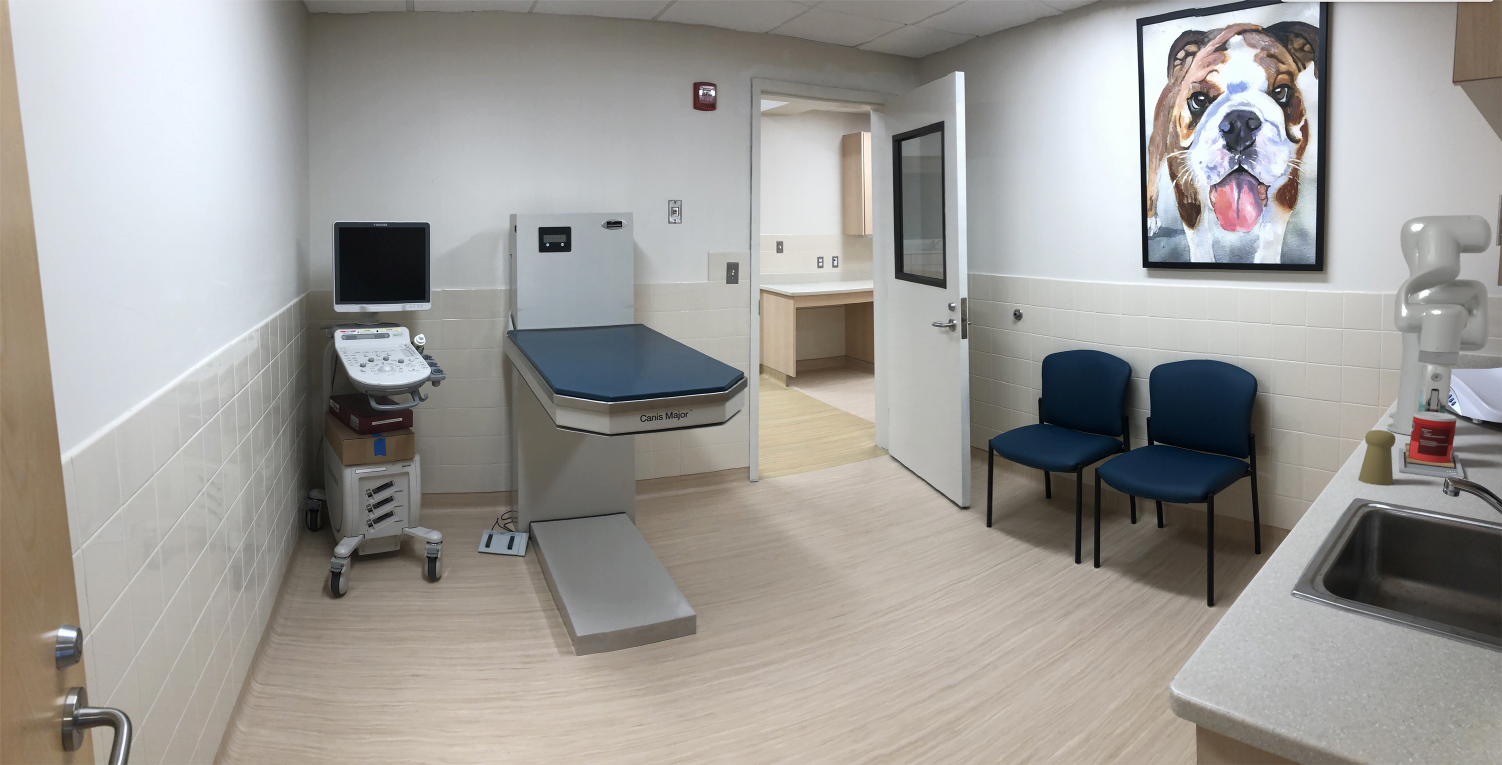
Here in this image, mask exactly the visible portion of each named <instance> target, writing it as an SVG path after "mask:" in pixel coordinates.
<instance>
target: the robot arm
mask: <svg viewBox="0 0 1502 765" xmlns="http://www.w3.org/2000/svg"><path fill="white" fill-rule="evenodd" d="M1491 242H1492V228H1491V225H1490V223H1489V222H1488V220H1487V219H1485V218H1484V217H1483V216H1481V215H1475V214H1474V215H1473V214H1472V215H1471V214H1470V215H1469V214H1468V215H1464V214H1463V215H1426V216H1417V217H1414V218H1410V219H1408V220H1407V221H1405V222H1404V223H1403V224H1402V227H1401V230H1400V248H1401V252H1402V256H1403V258H1404V260H1405V262H1406V263H1405V264H1407V267H1408V270H1409V277H1408V278H1407V279H1405V281H1403V283H1402V284H1401V286H1400V287H1399V288H1398V290H1397V292H1396V295H1395V298H1394V300H1395V301H1394V314H1393V315H1394V316H1393V317H1394V318H1393V319H1394V326H1395V328H1396V330H1398V331H1399V332H1401V343H1402V358H1401V369H1400V377H1399V385H1398V386H1399V387H1398V395H1397V401H1396V402H1397V403H1396V411H1393V412H1394V413H1393V412H1390V413H1389V414H1388V417H1389V418H1390V419H1392V420H1393V421H1392V422H1393V423H1388V424H1387V426H1386V428H1387V430H1388V431H1389V432H1391V433H1397V434H1401V435H1408V436H1411V431H1412V423H1413V416H1414V413H1415V412H1418V408H1419V400H1420V391H1421V390H1422V404H1423V405H1424V406H1425V412H1438V413H1439V411H1440V403H1441V405H1442V406H1445V407H1444V408H1448V407H1449V399H1450V391H1451V383H1452V369H1453V368H1454V367H1458V364H1459V357H1460V355H1459V354H1460V352H1478V351H1480V350H1482V349H1483V348H1485V347H1486V345H1487V343H1488V341H1489V340H1488V339H1489V332H1490V331H1489V330H1490V328H1489V327H1490V324H1489V323H1490V322H1489V297H1488V290H1487V287H1486V285H1485V284H1484V283H1483V282H1481V281H1479V280H1477V279H1466V278H1465V279H1463V278H1462V279H1460V278H1458V277H1459V276H1460V274H1461V254H1483V253H1485V252H1486V251H1487V250H1488V249H1489V247H1490V246H1491V244H1492V243H1491ZM1431 390H1432V392H1431ZM1428 399H1429V400H1428ZM1428 403H1429V404H1430V406H1428ZM1437 404H1438V406H1437ZM1428 408H1430V409H1428Z"/></svg>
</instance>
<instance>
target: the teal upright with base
mask: <svg viewBox="0 0 1502 765" xmlns="http://www.w3.org/2000/svg"><path fill="white" fill-rule="evenodd" d="M1431 392H1432V390H1431ZM1428 400H1429V399H1428ZM1428 406H1430V404H1429V403H1428ZM1437 406H1438V404H1437ZM1444 407H1445V406H1442V405H1441V403H1440V411H1439V413H1444V414H1446V408H1447V407H1446V408H1444ZM1428 409H1430V408H1428ZM1418 412H1425V406H1424V405H1423V404H1422V390H1421V391H1420V400H1419V408H1418ZM1409 447H1410V442H1405V444H1404V448H1405V452H1406V462H1409V463H1418V464H1426V465H1435V466H1444V467H1452V468H1454V462H1453V459H1452V457H1453V455H1451V461H1450V462H1448V463H1433V462H1425V461H1419V460H1415V459H1412V458H1410V457H1409V456H1408V455H1409Z"/></svg>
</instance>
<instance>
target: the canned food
mask: <svg viewBox="0 0 1502 765" xmlns="http://www.w3.org/2000/svg"><path fill="white" fill-rule="evenodd" d="M1456 426H1457V416H1455V415H1453V414H1449V413H1445V414H1444V413H1438V412H1415V413H1414V416H1413V423H1412V431H1411V435H1410V438H1409V440H1410V442H1409V443H1410V447H1409V455H1408V456H1409V457H1410V458H1412V459H1415V460H1419V461H1425V462H1433V463H1448V462H1450V461H1451V455H1452V454H1453V448H1454V447H1453V446H1454V440H1455V435H1456V434H1455V433H1456ZM1452 456H1453V455H1452ZM1425 465H1426V464H1425ZM1433 466H1435V465H1433Z"/></svg>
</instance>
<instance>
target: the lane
mask: <svg viewBox="0 0 1502 765" xmlns="http://www.w3.org/2000/svg"><path fill="white" fill-rule="evenodd" d="M1452 459H1453V462H1454V468H1452V467H1444V466H1433V465H1425V464H1418V463H1409V462H1406V451H1404V448H1398V469H1399V472H1398V473H1403V474H1410V475H1411V474H1412V475H1419V476H1428V477H1437V478H1443V476H1444V478H1445V477H1446V476H1457V477H1462V478H1464V479H1465V474H1464V470H1463V467H1462V465H1461V464H1462V463H1461V461H1460V457H1459V454H1453V455H1452ZM1447 471H1448V472H1447ZM1449 471H1451V472H1449ZM1452 471H1453V472H1452ZM1454 471H1455V472H1454ZM1450 473H1456V474H1450Z"/></svg>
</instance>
